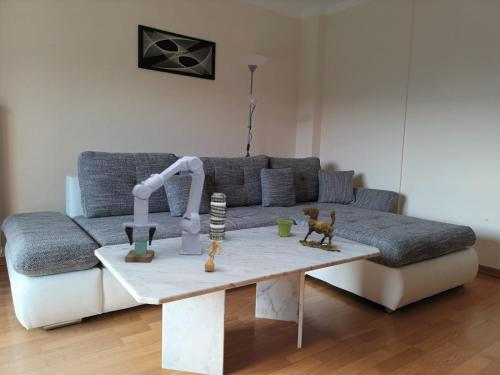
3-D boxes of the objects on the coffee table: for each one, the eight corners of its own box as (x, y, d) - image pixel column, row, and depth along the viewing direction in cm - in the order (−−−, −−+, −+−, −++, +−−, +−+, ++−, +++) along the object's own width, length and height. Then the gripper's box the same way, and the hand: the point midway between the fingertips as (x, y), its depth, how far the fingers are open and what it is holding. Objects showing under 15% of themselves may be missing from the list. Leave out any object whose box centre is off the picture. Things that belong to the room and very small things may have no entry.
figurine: (308, 239, 202) (310, 204, 200) (346, 250, 184) (349, 210, 182) (293, 242, 194) (295, 205, 192) (331, 253, 175) (334, 212, 173)
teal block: (146, 251, 155) (147, 240, 155) (145, 254, 151) (145, 243, 150) (135, 251, 154) (136, 240, 154) (134, 254, 150) (134, 243, 150)
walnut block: (154, 256, 158) (154, 250, 158) (150, 264, 149) (150, 256, 148) (130, 256, 157) (130, 249, 157) (125, 263, 147) (125, 256, 147)
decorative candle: (204, 239, 191) (206, 192, 188) (217, 237, 198) (218, 192, 195) (216, 243, 185) (218, 194, 182) (229, 240, 192) (231, 193, 189)
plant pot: (294, 237, 205) (295, 222, 204) (278, 237, 203) (279, 222, 202) (289, 234, 214) (290, 219, 213) (273, 234, 212) (274, 219, 211)
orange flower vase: (198, 269, 143) (199, 239, 142) (210, 266, 147) (211, 237, 146) (212, 274, 137) (213, 244, 136) (224, 271, 142) (225, 241, 140)
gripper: (120, 214, 146) (120, 247, 148) (157, 215, 148) (156, 247, 149) (125, 211, 153) (124, 242, 155) (159, 212, 155) (159, 243, 156)
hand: (140, 244), depth 152 cm, fingers open, 7 cm apart
